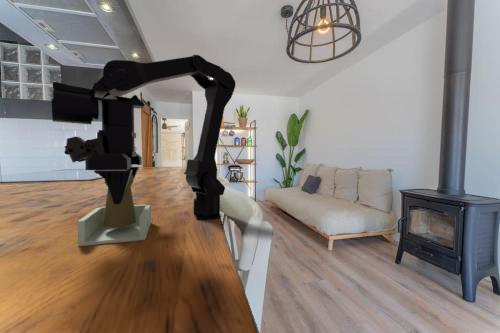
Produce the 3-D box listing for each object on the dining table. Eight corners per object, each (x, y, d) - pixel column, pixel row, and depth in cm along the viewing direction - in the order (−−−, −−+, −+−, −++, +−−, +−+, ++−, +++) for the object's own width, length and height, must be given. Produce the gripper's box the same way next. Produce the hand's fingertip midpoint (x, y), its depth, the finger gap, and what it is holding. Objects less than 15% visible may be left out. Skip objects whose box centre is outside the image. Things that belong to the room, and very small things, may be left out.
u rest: (151, 222, 54) (150, 204, 53) (145, 239, 43) (145, 216, 43) (98, 226, 50) (98, 207, 50) (78, 246, 40) (77, 221, 39)
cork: (97, 228, 43) (95, 172, 42) (110, 219, 49) (109, 169, 48) (130, 226, 44) (129, 172, 43) (139, 217, 50) (139, 169, 49)
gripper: (89, 129, 52) (91, 195, 52) (44, 117, 34) (48, 216, 35) (141, 131, 55) (142, 193, 56) (125, 121, 38) (127, 211, 38)
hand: (120, 201), depth 46 cm, fingers closed on cork, 4 cm apart
